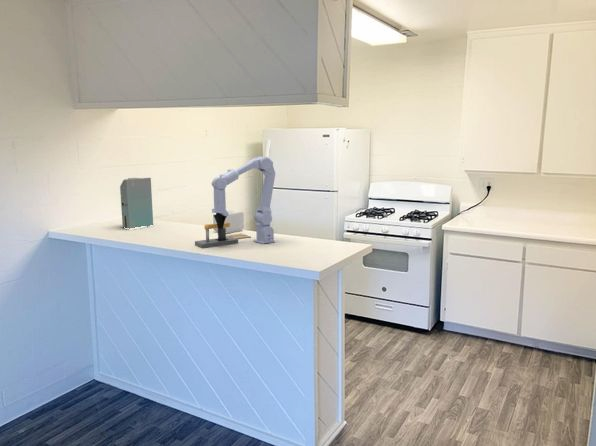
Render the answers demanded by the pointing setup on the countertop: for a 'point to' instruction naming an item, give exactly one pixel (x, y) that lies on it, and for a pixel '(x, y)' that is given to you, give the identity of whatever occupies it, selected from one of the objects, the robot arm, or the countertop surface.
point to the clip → (213, 226)
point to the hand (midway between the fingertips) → (220, 228)
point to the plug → (222, 234)
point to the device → (136, 202)
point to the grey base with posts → (215, 241)
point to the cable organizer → (233, 221)
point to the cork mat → (239, 236)
